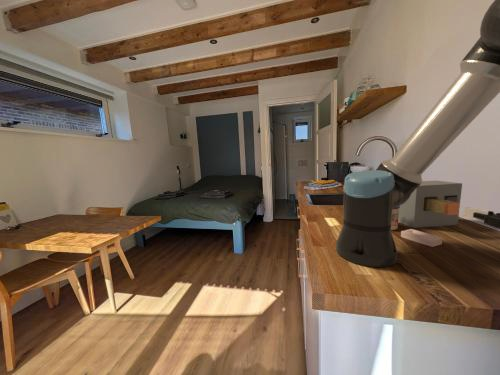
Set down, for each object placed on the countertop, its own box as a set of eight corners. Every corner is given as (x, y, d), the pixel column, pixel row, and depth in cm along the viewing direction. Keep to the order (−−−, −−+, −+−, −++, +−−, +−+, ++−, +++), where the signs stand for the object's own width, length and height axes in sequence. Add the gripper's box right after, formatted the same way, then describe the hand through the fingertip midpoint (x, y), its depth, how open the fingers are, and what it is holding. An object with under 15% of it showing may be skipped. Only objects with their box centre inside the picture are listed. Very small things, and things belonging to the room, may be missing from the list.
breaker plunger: (447, 215, 66) (448, 203, 66) (420, 207, 76) (420, 197, 76) (458, 214, 67) (459, 202, 66) (429, 207, 77) (430, 197, 76)
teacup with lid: (393, 232, 71) (395, 200, 70) (366, 226, 78) (367, 197, 77) (404, 224, 79) (406, 195, 77) (378, 219, 86) (379, 193, 84)
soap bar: (431, 248, 60) (432, 240, 59) (399, 237, 68) (400, 230, 68) (442, 244, 62) (443, 237, 61) (410, 234, 70) (410, 228, 70)
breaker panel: (414, 228, 75) (417, 186, 72) (392, 219, 85) (395, 182, 83) (458, 225, 76) (463, 183, 74) (432, 217, 86) (435, 180, 84)
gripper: (567, 261, 40) (445, 224, 63) (623, 257, 41) (483, 221, 64) (574, 226, 39) (447, 201, 62) (632, 222, 40) (486, 198, 63)
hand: (465, 211), depth 63 cm, fingers closed
